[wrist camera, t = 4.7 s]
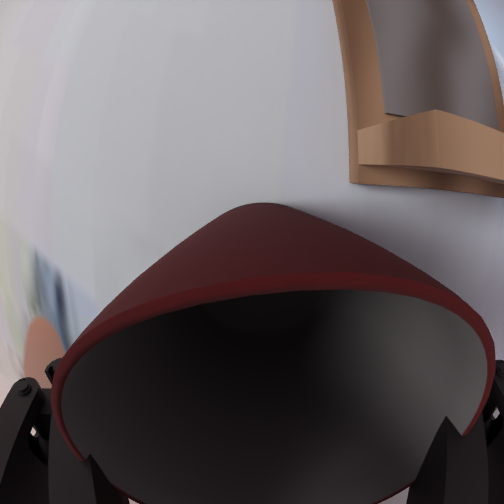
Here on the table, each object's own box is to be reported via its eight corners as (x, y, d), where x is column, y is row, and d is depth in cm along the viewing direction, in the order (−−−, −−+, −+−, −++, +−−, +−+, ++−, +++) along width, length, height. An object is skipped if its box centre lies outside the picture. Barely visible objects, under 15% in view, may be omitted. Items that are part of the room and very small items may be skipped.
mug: (253, 393, 17) (256, 546, 6) (133, 331, 15) (50, 479, 5) (375, 250, 14) (525, 380, 3) (236, 151, 12) (170, 75, 2)
